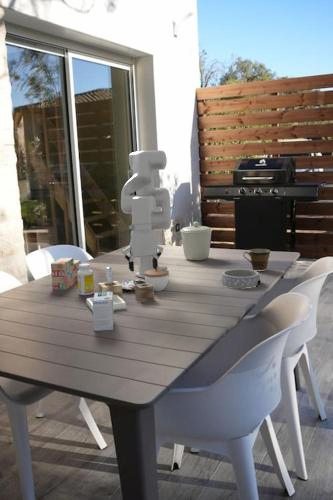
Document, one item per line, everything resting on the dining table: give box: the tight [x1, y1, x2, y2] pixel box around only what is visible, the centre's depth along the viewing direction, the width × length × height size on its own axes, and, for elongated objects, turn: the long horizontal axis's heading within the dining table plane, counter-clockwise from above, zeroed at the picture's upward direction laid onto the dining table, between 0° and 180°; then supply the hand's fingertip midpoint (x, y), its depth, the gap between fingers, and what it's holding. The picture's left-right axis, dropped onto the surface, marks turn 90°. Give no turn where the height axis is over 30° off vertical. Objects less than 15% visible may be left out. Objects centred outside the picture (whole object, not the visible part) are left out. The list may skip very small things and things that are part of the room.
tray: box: [85, 295, 127, 313], centre depth 199 cm, size 13×13×2 cm
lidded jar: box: [144, 268, 170, 292], centre depth 223 cm, size 11×11×9 cm
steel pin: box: [105, 266, 114, 286], centre depth 211 cm, size 3×3×12 cm
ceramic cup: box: [243, 248, 271, 270], centre depth 252 cm, size 13×10×10 cm
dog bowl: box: [220, 268, 262, 289], centre depth 228 cm, size 17×18×5 cm
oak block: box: [97, 280, 124, 300], centre depth 212 cm, size 8×8×6 cm
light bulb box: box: [92, 291, 115, 332], centre depth 176 cm, size 11×7×11 cm, turn 5°
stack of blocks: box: [50, 257, 82, 291], centre depth 237 cm, size 21×6×12 cm, turn 169°
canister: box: [179, 221, 213, 261], centre depth 284 cm, size 18×18×21 cm
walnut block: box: [134, 282, 155, 303], centre depth 207 cm, size 6×6×6 cm
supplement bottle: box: [77, 263, 95, 296], centre depth 218 cm, size 7×7×13 cm
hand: (143, 269), depth 205 cm, fingers open, 9 cm apart
